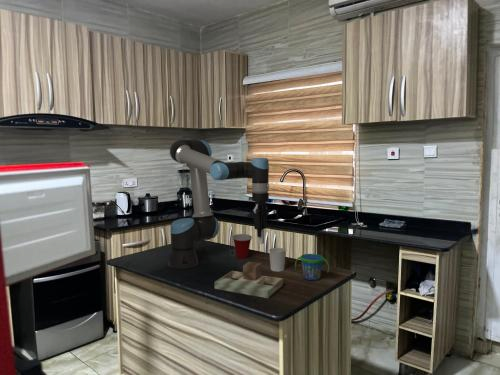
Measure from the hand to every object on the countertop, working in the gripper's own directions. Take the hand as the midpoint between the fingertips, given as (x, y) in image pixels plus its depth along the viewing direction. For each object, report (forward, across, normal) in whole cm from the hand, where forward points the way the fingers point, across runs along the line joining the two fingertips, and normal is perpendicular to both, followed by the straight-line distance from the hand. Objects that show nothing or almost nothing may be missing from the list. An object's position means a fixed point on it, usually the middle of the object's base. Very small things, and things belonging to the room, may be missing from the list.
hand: (260, 243), depth 174 cm
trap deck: (+16, -12, 0) cm, 21 cm away
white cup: (+17, +14, -2) cm, 22 cm away
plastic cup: (+17, +26, +22) cm, 38 cm away
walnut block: (+13, -9, 0) cm, 16 cm away
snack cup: (+17, +10, -22) cm, 29 cm away
